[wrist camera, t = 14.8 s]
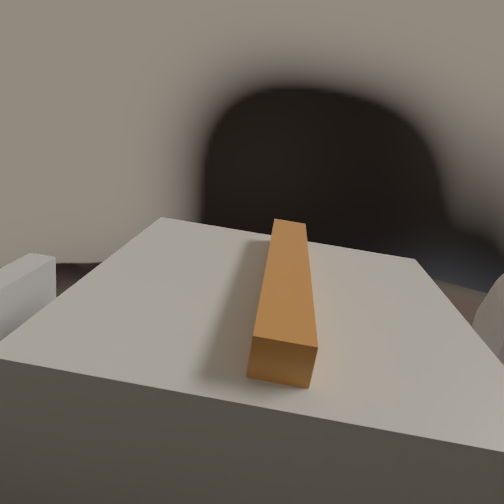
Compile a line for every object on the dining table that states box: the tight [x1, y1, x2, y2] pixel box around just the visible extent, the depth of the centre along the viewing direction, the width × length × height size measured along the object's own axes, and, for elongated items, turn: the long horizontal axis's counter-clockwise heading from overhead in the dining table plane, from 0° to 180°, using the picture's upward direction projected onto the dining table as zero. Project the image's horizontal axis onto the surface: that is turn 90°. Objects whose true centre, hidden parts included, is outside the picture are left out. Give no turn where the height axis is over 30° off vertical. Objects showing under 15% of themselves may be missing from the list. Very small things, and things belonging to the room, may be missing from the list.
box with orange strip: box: [0, 217, 504, 504], centre depth 10 cm, size 7×7×11 cm
